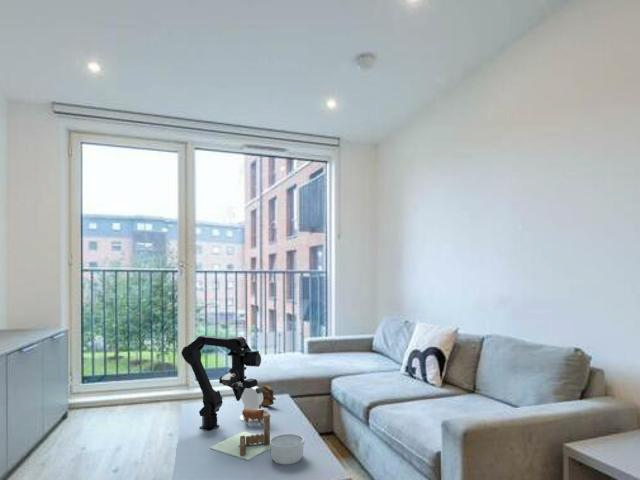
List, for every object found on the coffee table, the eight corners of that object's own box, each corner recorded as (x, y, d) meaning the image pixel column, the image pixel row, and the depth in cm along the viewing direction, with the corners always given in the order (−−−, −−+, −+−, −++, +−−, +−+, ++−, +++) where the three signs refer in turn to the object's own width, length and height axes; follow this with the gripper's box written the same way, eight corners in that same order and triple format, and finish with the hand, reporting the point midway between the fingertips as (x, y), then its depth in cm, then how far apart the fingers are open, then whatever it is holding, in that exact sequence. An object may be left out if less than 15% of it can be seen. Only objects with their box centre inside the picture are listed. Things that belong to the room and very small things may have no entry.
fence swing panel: (246, 446, 168) (246, 418, 169) (245, 443, 171) (245, 416, 172) (271, 442, 171) (270, 415, 171) (270, 440, 173) (269, 413, 174)
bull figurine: (268, 428, 189) (268, 409, 190) (241, 426, 192) (241, 408, 192) (271, 424, 193) (271, 406, 194) (244, 422, 196) (244, 405, 197)
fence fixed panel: (240, 446, 170) (240, 435, 170) (245, 445, 170) (245, 435, 170) (240, 457, 160) (240, 446, 160) (245, 456, 160) (245, 445, 160)
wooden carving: (251, 403, 225) (251, 384, 226) (257, 401, 229) (257, 382, 229) (271, 409, 214) (271, 389, 215) (278, 407, 218) (278, 387, 219)
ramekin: (272, 451, 165) (272, 433, 165) (305, 451, 164) (305, 432, 165) (267, 466, 152) (267, 447, 152) (303, 466, 151) (303, 446, 152)
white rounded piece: (269, 416, 205) (268, 385, 206) (253, 423, 195) (253, 390, 196) (250, 412, 211) (250, 381, 212) (234, 418, 202) (234, 387, 203)
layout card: (209, 448, 168) (209, 447, 168) (243, 431, 185) (243, 431, 185) (248, 460, 157) (248, 459, 157) (281, 441, 173) (281, 440, 173)
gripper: (210, 366, 187) (210, 402, 186) (240, 371, 177) (240, 409, 176) (228, 362, 196) (228, 395, 195) (258, 366, 186) (258, 402, 185)
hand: (238, 400), depth 187 cm, fingers closed
